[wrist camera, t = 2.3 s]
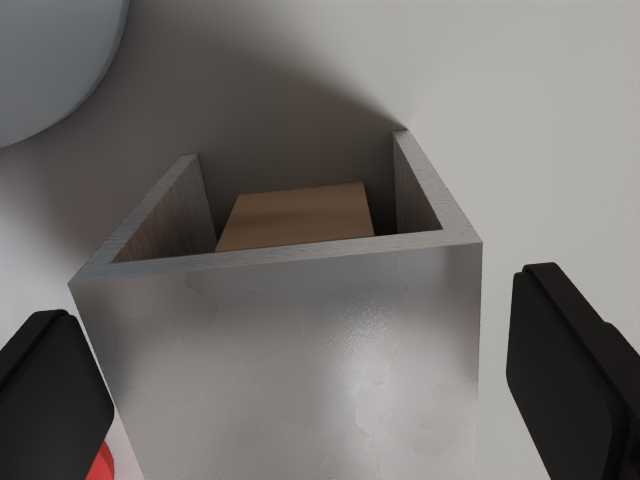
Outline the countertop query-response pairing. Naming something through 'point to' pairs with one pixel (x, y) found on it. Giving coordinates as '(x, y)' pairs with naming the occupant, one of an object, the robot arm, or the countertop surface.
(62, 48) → the dish
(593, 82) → the countertop surface
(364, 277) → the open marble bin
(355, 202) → the block
